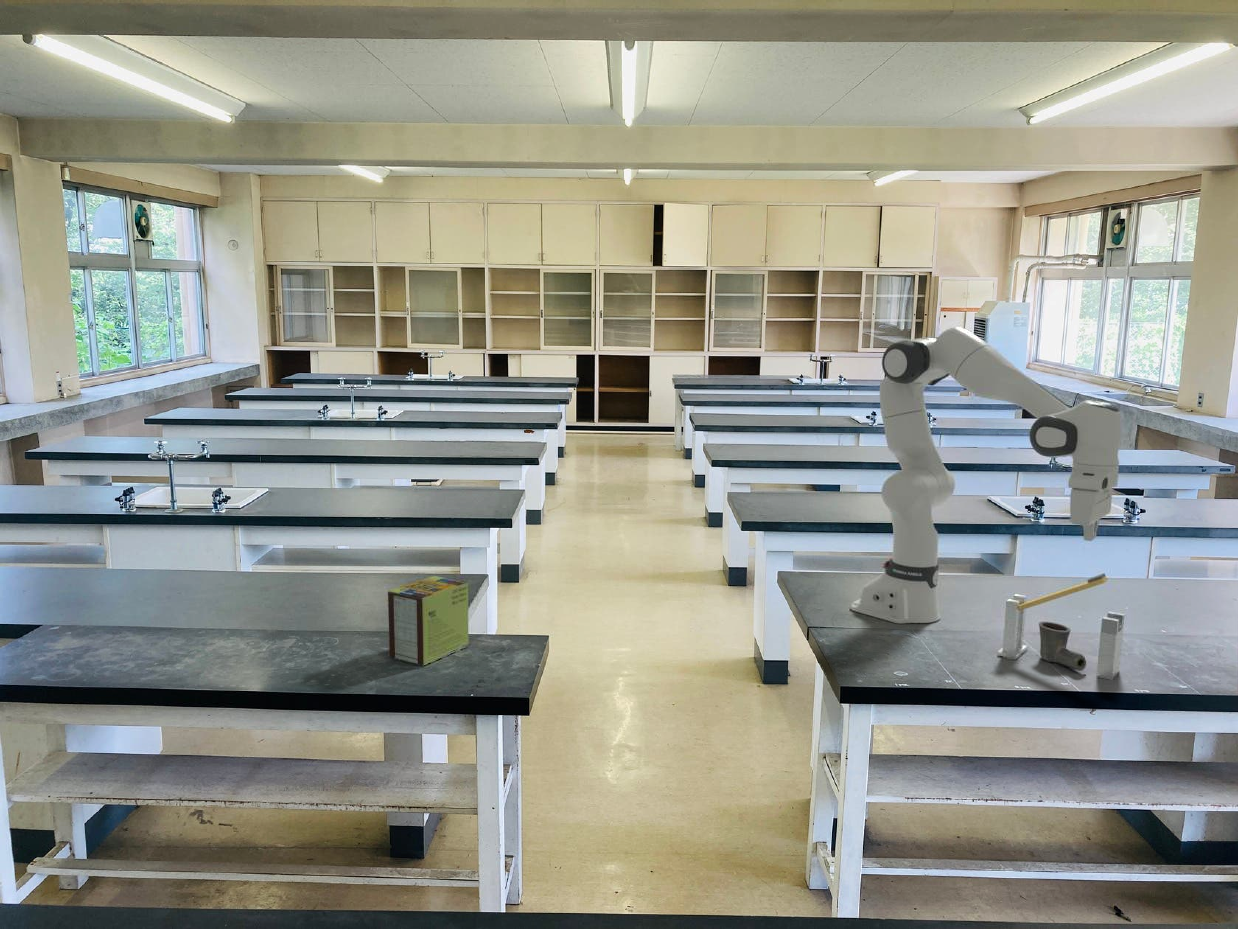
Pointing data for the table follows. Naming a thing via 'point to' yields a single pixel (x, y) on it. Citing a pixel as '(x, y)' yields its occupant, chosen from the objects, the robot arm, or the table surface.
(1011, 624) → the grey slotted stand
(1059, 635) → the pipe
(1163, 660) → the table surface
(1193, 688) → the table surface
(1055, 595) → the yellow bar
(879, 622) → the table surface
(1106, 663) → the stop block
